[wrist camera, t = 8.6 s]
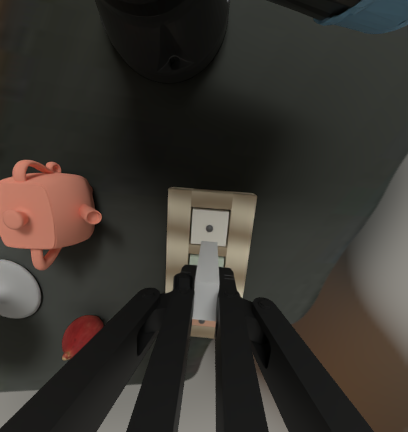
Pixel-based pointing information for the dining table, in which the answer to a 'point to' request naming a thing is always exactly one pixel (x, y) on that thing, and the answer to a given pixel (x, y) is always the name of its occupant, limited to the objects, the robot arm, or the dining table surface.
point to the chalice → (17, 291)
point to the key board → (182, 248)
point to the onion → (80, 334)
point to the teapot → (45, 210)
